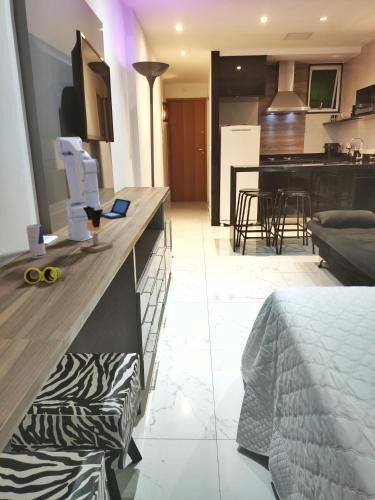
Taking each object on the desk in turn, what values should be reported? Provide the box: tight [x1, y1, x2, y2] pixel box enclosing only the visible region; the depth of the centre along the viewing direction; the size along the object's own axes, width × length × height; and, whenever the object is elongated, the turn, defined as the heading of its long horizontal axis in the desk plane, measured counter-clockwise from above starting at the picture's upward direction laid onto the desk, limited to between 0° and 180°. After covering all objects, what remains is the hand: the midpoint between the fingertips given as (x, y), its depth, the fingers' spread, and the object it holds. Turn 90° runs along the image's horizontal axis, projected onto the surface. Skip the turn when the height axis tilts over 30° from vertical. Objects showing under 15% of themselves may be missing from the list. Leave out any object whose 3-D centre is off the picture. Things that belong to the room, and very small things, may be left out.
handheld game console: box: [101, 198, 132, 220], centre depth 212 cm, size 16×13×9 cm
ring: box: [86, 218, 103, 232], centre depth 144 cm, size 6×6×4 cm
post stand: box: [79, 233, 114, 253], centre depth 146 cm, size 9×9×6 cm
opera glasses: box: [23, 266, 61, 285], centre depth 112 cm, size 10×5×5 cm, turn 95°
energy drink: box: [26, 223, 47, 259], centre depth 136 cm, size 5×5×12 cm
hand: (94, 225), depth 144 cm, fingers closed on ring, 6 cm apart
